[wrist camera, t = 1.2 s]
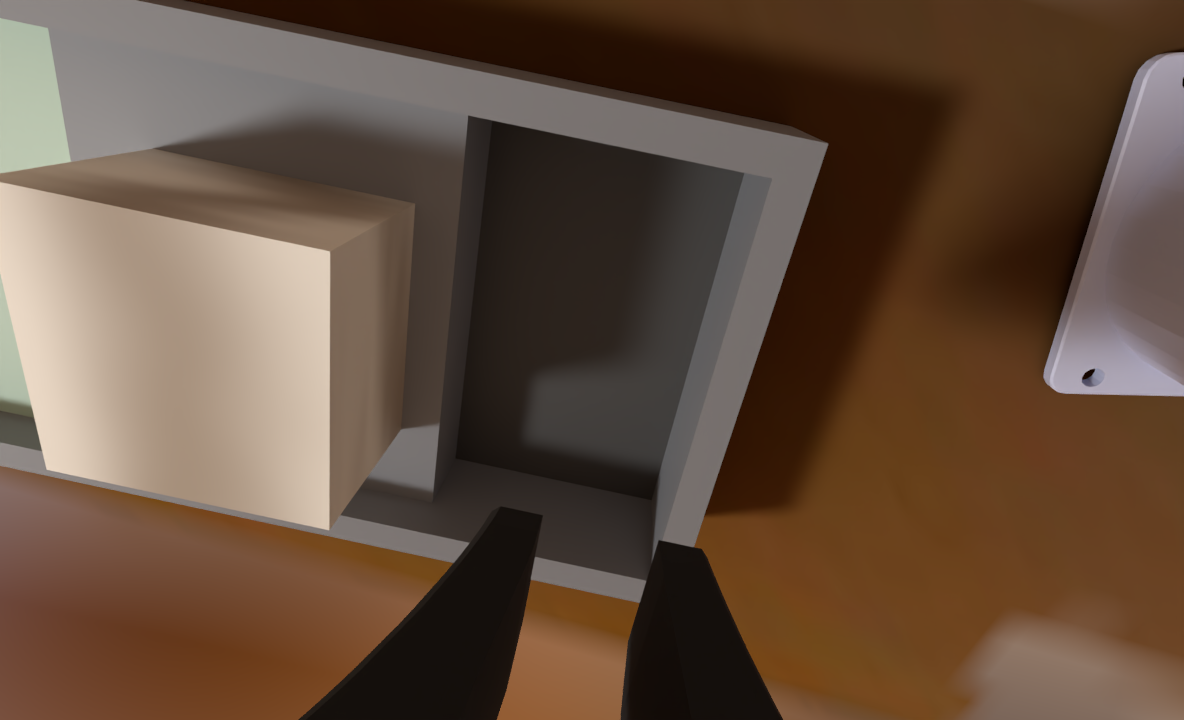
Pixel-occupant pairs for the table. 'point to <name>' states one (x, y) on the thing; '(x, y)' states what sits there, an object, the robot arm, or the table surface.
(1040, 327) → the table surface
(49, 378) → the cream block
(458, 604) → the robot arm
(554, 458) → the gray tray
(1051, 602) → the table surface
